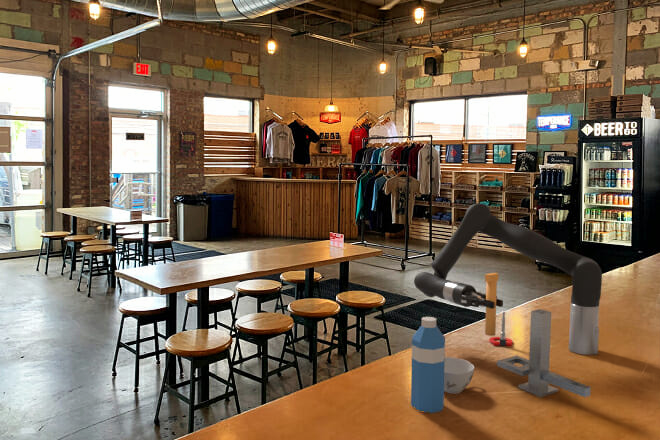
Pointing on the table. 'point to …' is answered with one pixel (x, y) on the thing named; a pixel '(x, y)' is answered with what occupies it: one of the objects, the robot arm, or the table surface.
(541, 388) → the scaffold post with crossbars
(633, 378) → the table surface
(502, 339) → the red handwheel with stem
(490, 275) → the wedge pin
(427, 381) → the water bottle
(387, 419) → the table surface
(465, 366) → the teacup
